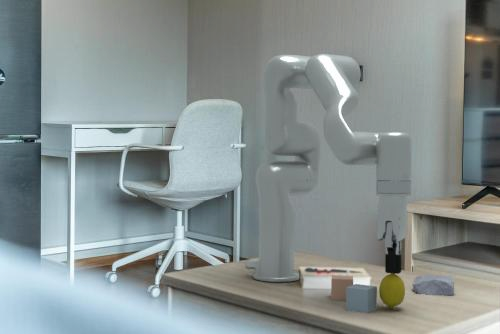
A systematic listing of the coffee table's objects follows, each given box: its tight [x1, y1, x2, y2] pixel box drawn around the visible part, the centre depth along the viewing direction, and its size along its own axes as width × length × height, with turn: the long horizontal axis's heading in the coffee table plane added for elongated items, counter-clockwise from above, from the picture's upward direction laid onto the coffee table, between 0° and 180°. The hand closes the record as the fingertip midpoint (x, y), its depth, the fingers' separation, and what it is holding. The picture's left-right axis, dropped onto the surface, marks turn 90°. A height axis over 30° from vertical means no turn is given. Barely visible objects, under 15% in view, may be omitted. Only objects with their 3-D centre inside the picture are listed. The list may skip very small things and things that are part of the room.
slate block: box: [345, 283, 378, 314], centre depth 161 cm, size 5×5×5 cm
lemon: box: [378, 273, 406, 310], centre depth 161 cm, size 6×6×8 cm
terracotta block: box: [330, 274, 354, 302], centre depth 173 cm, size 5×5×5 cm
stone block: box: [412, 273, 455, 297], centre depth 183 cm, size 12×5×10 cm
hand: (393, 272), depth 161 cm, fingers closed
